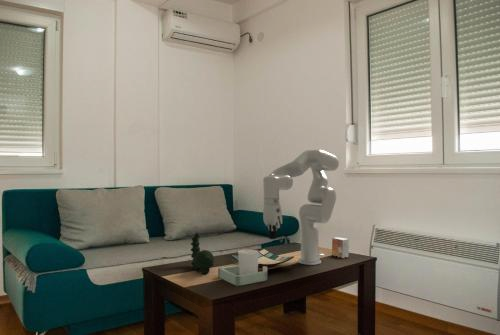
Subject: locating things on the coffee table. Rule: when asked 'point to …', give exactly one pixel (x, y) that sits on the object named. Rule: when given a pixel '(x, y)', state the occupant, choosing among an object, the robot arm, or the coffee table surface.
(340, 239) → the small box
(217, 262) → the coffee table surface
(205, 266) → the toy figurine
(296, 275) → the coffee table surface
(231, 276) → the tray
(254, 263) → the candle holder
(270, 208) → the robot arm
